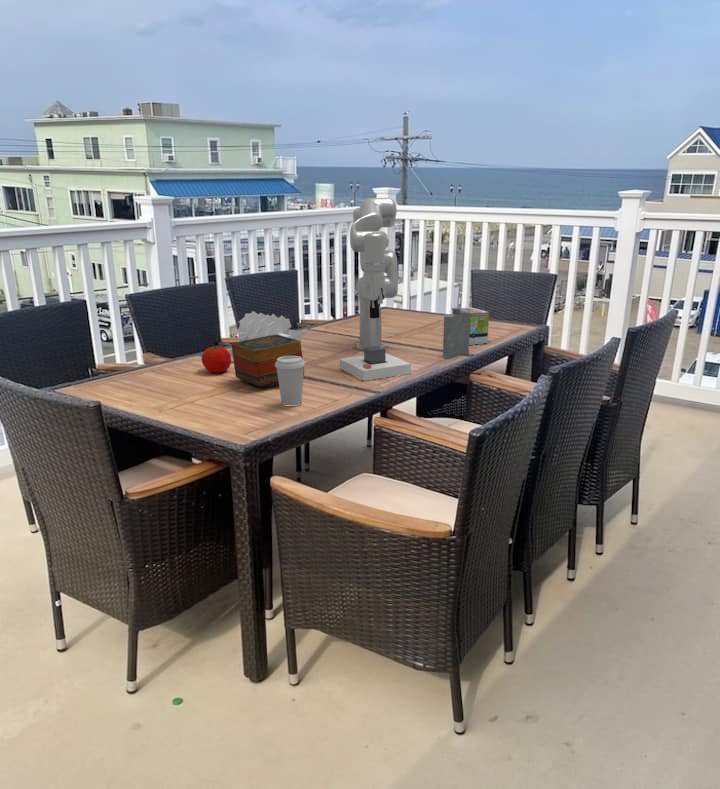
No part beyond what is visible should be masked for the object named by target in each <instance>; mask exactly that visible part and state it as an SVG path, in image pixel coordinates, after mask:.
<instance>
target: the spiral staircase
mask: <svg viewBox="0 0 720 789" xmlns="http://www.w3.org/2000/svg"><path fill="white" fill-rule="evenodd" d="M238 323H239V327H238V329H237V331H236V333H237V334H238V342H241V341H245V340H251V339H255V338H260V337H265V336H270V335H280V336H284V337H288V338H292V339H295V340H299V341H300V342H301V343H302V337H303V333H304V332H303V331H300V330H296V329H291V328H292V324H291V322H290V318H286V317H285V316H283V314H282V315H280V317H278V316H277V315H276V314H274V313H272V315H269V314H264V313H262V312H260V313H258V312H256V311H253V310H252V312H250V313H245V314H244V317H243V318H242V319H240V320H239V321H238Z"/></svg>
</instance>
